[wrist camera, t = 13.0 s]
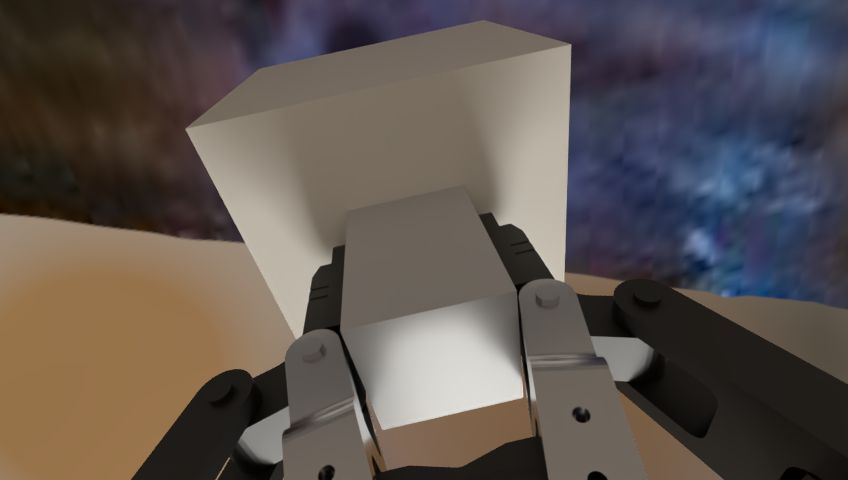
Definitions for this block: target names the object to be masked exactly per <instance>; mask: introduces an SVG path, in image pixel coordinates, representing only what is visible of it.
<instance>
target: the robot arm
mask: <svg viewBox="0 0 848 480" xmlns="http://www.w3.org/2000/svg"><path fill="white" fill-rule="evenodd" d="M478 216H479V218H480V220H481V222H482V224H483V226H484V227H485V229H486V231H487V233H488V235H489V237H490V239H491V241H492V243H493V245H494V247H495V249H496V251H497V253H498V255H499V257H500V259H501V261H502V263H503V265H504V267H505V269H506V271H507V273H508V274H509V276H510V278H511V280H512V282H513V284H514V286H515V288H516V290H517V302H518V319H519V336H520V353H521V356H522V363H523V374H524V381H525V389H526V396H527V403H528V411H529V419H530V426H531V434H532V437H530V438H526V439H522V440H517V441H513V442H509V443H505V444H504V445H502V446H500V447H498V448H496V449H494V450H493V451H491V452H489V453H487V454H485V455H483V456H482V457H480V458H478V459H476V460H474V461H472V462H471V463H469V464H467V465H465V466H463V467H459V468H450V467H428V466H406V467H401V468H397V469H393V470H389V471H388V470H387V467H386V464H385V460H384V457H383V453H382V450H381V447H380V443H379V440H378V436H377V433H376V430H375V426H374V422H373V419H372V416H371V412H370V409H369V405H368V403H367V400H366V390H365V388H364V386H363V383H362V381H361V379H360V376H359V374H358V372H357V369H356V367H355V365H354V362H353V360H352V358H351V355H350V353H349V351H348V348H347V346H346V344H345V341H344V339H343V337H342V334H341V332H340V325H341V309H342V293H343V276H344V260H345V245H341V246H336V247H333V253H332V262H331V264H327V265H323V266H320V267H319V269H318V270H317V272H316V273H315V274H314V276H313V277H312V281H311V287H310V291H311V292H310V293H309V302H308V305H307V311H306V316H305V322H304V328H303V334H302V336H301V337H299V338H298V339H297V340H296V341H295V342H294V343H293V344H292V345H291V346H290V347H289V349H288V351H287V353H286V356H285V362H283V363H282V364H280V365H278V366H277V367H275V368H273V369H271V370H269V371H267V372H265V373H263V374H261V375H259V376H257V377H255V378H252V377H251V375H250V374H249V373H248V372H247V371H245V370H241V369H234V370H229V371H225V372H223V373H221V374H219V375H217V376H215V377H214V378H212V379H211V380H209V381H208V382H207V383H206V384H205V385H204V386H203V387H202V388H201V389H200V390H199V391H198V392H197V394H196V395H195V396H194V398H193V399H192V400H191V402H190V403H189V404H188V405H187V407H186V408H185V409H184V411H183V412H182V413H181V415H180V416H179V417H178V419H177V420H176V421H175V423H174V424H173V425H172V427H171V428H170V429H169V431H168V432H167V433H166V434H165V436H164V437H163V439H162V440H161V441H160V442H159V444H158V445H157V446H156V448H155V449H154V451H153V452H152V453H151V454H150V455H149V457H148V458H147V459H146V461H145V462H144V463H143V465H142V466H141V467H140V469H139V470H138V471H137V473H136V474H135V475H134V477H133V478H132V479H131V480H215V479H216V478H217V476H218V474H219V473H220V471H221V469H222V467H223V466H224V464H225V462H226V461H227V459H228V458H230V460H229V461H228V463H227V465H226V467H225V468H224V470H223V471H222V473H221V475H220V477H219V478H218V480H282V479H283V477H284V480H648V477H647V474H646V471H645V468H644V466H643V463H642V460H641V457H640V454H639V452H638V448H637V445H636V443H635V440H634V437H633V434H632V431H631V428H630V425H629V423H628V420H627V417H626V414H625V411H624V408H623V405H622V402H621V400H620V397H619V394H618V391H617V389H618V390H619V391H620V392H621V393H623V394H624V395H625V396H626V397H627V398H629V399H630V400H631V401H632V402H633V403H634V404H636V405H637V406H638V407H639V408H640V409H641V410H643V411H644V412H645V413H646V414H647V415H649V416H650V417H651V418H652V419H653V420H654V421H656V422H657V423H658V424H659V425H660V426H662V427H663V428H664V429H665V430H666V431H668V432H669V433H670V434H671V435H672V436H674V438H676V439H677V440H678V441H679V442H681V443H682V444H683V445H684V446H685V447H686V448H687V449H689V450H690V451H691V452H692V453H693V454H695V455H696V456H697V457H698V458H699V459H701V460H702V461H703V462H704V463H705V464H706V465H708V466H709V467H710V468H711V469H712V470H714V471H715V472H716V473H717V474H718V475H720V476H721V477H722V478H723V479H724V480H848V384H846V383H844V382H843V381H840V380H839V379H837V378H835V377H833V376H832V375H829V374H828V373H826V372H824V371H822V370H820V369H819V368H817V367H815V366H813V365H811V364H810V363H807V362H806V361H804V360H802V359H800V358H798V357H796V356H795V355H793V354H791V353H789V352H787V351H786V350H784V349H782V348H780V347H778V346H776V345H775V344H773V343H771V342H769V341H767V340H765V339H764V338H762V337H760V336H758V335H756V334H754V333H753V332H751V331H749V330H747V329H745V328H743V327H741V326H740V325H738V324H736V323H734V322H732V321H731V320H729V319H727V318H725V317H723V316H721V315H719V314H717V313H716V312H714V311H712V310H710V309H708V308H706V307H705V306H703V305H701V304H699V303H697V302H696V301H694V300H692V299H690V298H688V297H686V296H684V295H683V294H681V293H679V292H677V291H675V290H674V289H672V288H670V287H668V286H666V285H664V284H662V283H659V282H656V281H652V280H647V279H633V280H628V281H625V282H623V283H621V284H620V285H618V286H617V288H616V289H615V291H614V296H590V295H581V294H577V293H576V292H575V291H574V290H573V288H572V287H570V286H569V285H567V284H566V283H564V282H562V281H559V280H555V278H554V277H553V275H552V274H551V272H550V271H549V269H548V268H547V266H546V265H545V263H544V262H543V260H542V259H541V257H540V256H539V254H538V253H537V251H535V248H534V247H533V245H532V244H531V242H529V239H528V238H527V236H526V235H525V233H524V232H523V230H521V229H519V228H518V227H516V226H514V225H512V224H506V225H502V226H499V224H498V223H497V221H496V219H495V217H494V216H493V214H492V213H491V212H489V213H485V214H480V215H478Z"/></svg>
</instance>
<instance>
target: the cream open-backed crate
mask: <svg viewBox="0 0 848 480" xmlns="http://www.w3.org/2000/svg"><path fill="white" fill-rule="evenodd" d="M570 69H571V44H568V43H565V42H561V41H557V40H554V39H550V38H547V37H543V36H539V35H536V34H532V33H528V32H525V31H521V30H517V29H514V28H510V27H507V26H503V25H499V24H496V23H492V22H488V21H485V20H482V21H477V22H473V23H468V24H464V25H459V26H454V27H450V28H445V29H441V30H436V31H431V32H427V33H422V34H418V35H413V36H408V37H404V38H399V39H395V40H390V41H385V42H381V43H376V44H372V45H367V46H362V47H358V48H353V49H349V50H344V51H339V52H335V53H330V54H326V55H321V56H317V57H312V58H307V59H303V60H298V61H294V62H289V63H284V64H280V65H275V66H271V67H266V68H261V69H259V70H258V71H256V72H255V73H254V74H253V75H251V76H250V77H249V78H248V79H246V80H245V81H244V82H243V83H241V84H240V85H239V86H238V87H237V88H235V89H234V90H233V91H232V92H230V93H229V94H228V95H227V96H225V97H224V98H223V99H222V100H220V101H219V102H218V103H217V104H215V105H214V106H213V107H212V108H211V109H209V110H208V111H207V112H206V113H204V114H203V115H202V116H201V117H199V118H198V119H197V120H196V121H194V122H193V123H192V124H191V125H189V126H188V127H187V128H186V131H187V133H188V135H189V137H190V139H191V141H192V143H193V144H194V146H195V148H196V150H197V152H198V154H199V156H200V158H201V160H202V162H203V163H204V165H205V167H206V169H207V171H208V173H209V175H210V177H211V179H212V180H213V182H214V184H215V186H216V188H217V190H218V192H219V194H220V196H221V198H222V199H223V201H224V203H225V205H226V207H227V209H228V211H229V213H230V215H231V216H232V218H233V220H234V222H235V224H236V226H237V228H238V230H239V232H240V233H241V235H242V237H243V239H244V241H245V243H246V245H247V247H248V249H249V250H250V252H251V254H252V256H253V258H254V260H255V262H256V264H257V266H258V268H259V269H260V271H261V273H262V275H263V277H264V279H265V281H266V283H267V285H268V286H269V288H270V290H271V292H272V294H273V296H274V298H275V300H276V302H277V304H278V305H279V307H280V309H281V311H282V313H283V315H284V317H285V319H286V320H287V322H288V324H289V326H290V328H291V330H292V332H293V334H294V336H295V338H296V340H297V339H298V338H299V337H301V336H302V334H303V328H304V322H305V316H306V311H307V305H308V302H309V293H310V292H311V291H310V287H311V281H312V277H313V276H314V274H315V273H316V272H317V270H318V269H319V267H320V266H323V265H327V264H331V262H332V253H333V247H336V246H341V245H345V260H344V276H343V293H342V309H341V325H340V332H341V334H342V337H343V339H344V341H345V344H346V346H347V348H348V351H349V353H350V355H351V358H352V360H353V362H354V365H355V367H356V369H357V372H358V374H359V376H360V379H361V381H362V383H363V386H364V388H365V390H366V393H367V395H368V397H369V399H370V401H371V404H372V407H373V409H374V411H375V414H376V416H377V418H378V421H379V423H380V425H381V428H382V430H385V429H389V428H394V427H398V426H402V425H407V424H411V423H415V422H420V421H424V420H428V419H433V418H437V417H441V416H446V415H450V414H454V413H459V412H463V411H467V410H472V409H476V408H480V407H485V406H489V405H493V404H498V403H502V402H506V401H511V400H515V399H519V398H523V386H522V370H521V353H520V336H519V319H518V302H517V290H516V288H515V286H514V284H513V282H512V280H511V278H510V276H509V274H508V273H507V271H506V269H505V267H504V265H503V263H502V261H501V259H500V257H499V255H498V253H497V251H496V249H495V247H494V245H493V243H492V241H491V239H490V237H489V235H488V233H487V231H486V229H485V227H484V226H483V224H482V222H481V220H480V218H479V216H478V215H480V214H485V213H489V212H491V213H492V214H493V216H494V217H495V219H496V221H497V223H498V224H499V226H502V225H506V224H512V225H514V226H516V227H518V228H519V229H521V230H523V232H524V233H525V235H526V236H527V238H528V239H529V242H531V244H532V245H533V247H534V248H535V251H537V253H538V254H539V256H540V257H541V259H542V260H543V262H544V263H545V265H546V266H547V268H548V269H549V271H550V272H551V274H552V275H553V277H554V278H555V280H559V281H562V282H564V270H565V236H566V203H567V169H568V136H569V102H570Z"/></svg>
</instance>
